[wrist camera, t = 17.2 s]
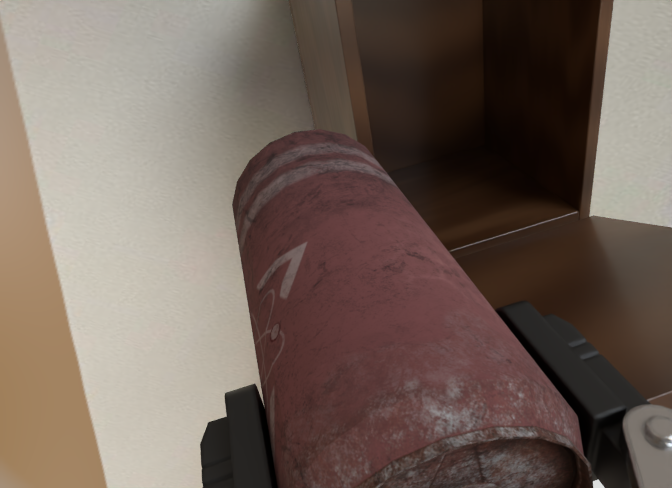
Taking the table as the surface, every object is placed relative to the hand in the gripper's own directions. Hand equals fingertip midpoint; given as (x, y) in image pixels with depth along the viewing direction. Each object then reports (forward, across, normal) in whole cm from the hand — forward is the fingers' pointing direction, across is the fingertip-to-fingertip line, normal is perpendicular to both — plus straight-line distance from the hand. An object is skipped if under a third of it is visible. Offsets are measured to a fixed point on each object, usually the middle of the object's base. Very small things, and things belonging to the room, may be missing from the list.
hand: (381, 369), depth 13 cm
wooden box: (+29, -11, +2) cm, 31 cm away
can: (+10, 0, 0) cm, 10 cm away
